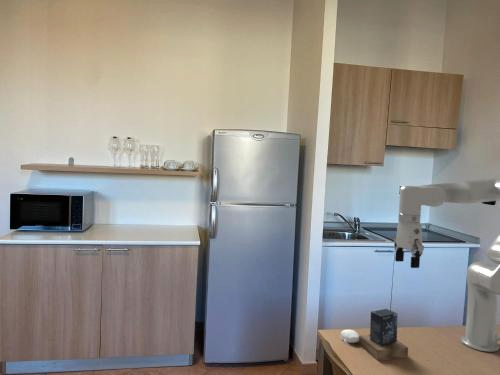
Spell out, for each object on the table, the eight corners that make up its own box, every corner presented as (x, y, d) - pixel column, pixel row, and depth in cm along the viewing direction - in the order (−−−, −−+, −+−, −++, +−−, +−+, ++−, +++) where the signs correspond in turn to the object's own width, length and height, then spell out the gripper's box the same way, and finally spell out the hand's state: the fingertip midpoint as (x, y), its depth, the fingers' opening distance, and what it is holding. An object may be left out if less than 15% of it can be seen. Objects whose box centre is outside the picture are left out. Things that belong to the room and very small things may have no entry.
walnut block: (387, 343, 144) (387, 333, 144) (407, 358, 132) (408, 347, 132) (358, 346, 141) (359, 335, 141) (377, 361, 129) (377, 350, 129)
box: (381, 346, 132) (382, 316, 132) (369, 340, 137) (370, 311, 137) (397, 342, 136) (397, 312, 136) (385, 336, 141) (385, 308, 141)
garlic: (364, 345, 141) (364, 335, 141) (348, 346, 139) (348, 336, 139) (353, 336, 149) (353, 326, 149) (337, 337, 147) (337, 327, 147)
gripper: (433, 222, 133) (430, 270, 134) (404, 216, 150) (402, 259, 151) (414, 222, 132) (411, 270, 133) (387, 216, 149) (385, 259, 150)
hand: (406, 264), depth 142 cm, fingers open, 9 cm apart
